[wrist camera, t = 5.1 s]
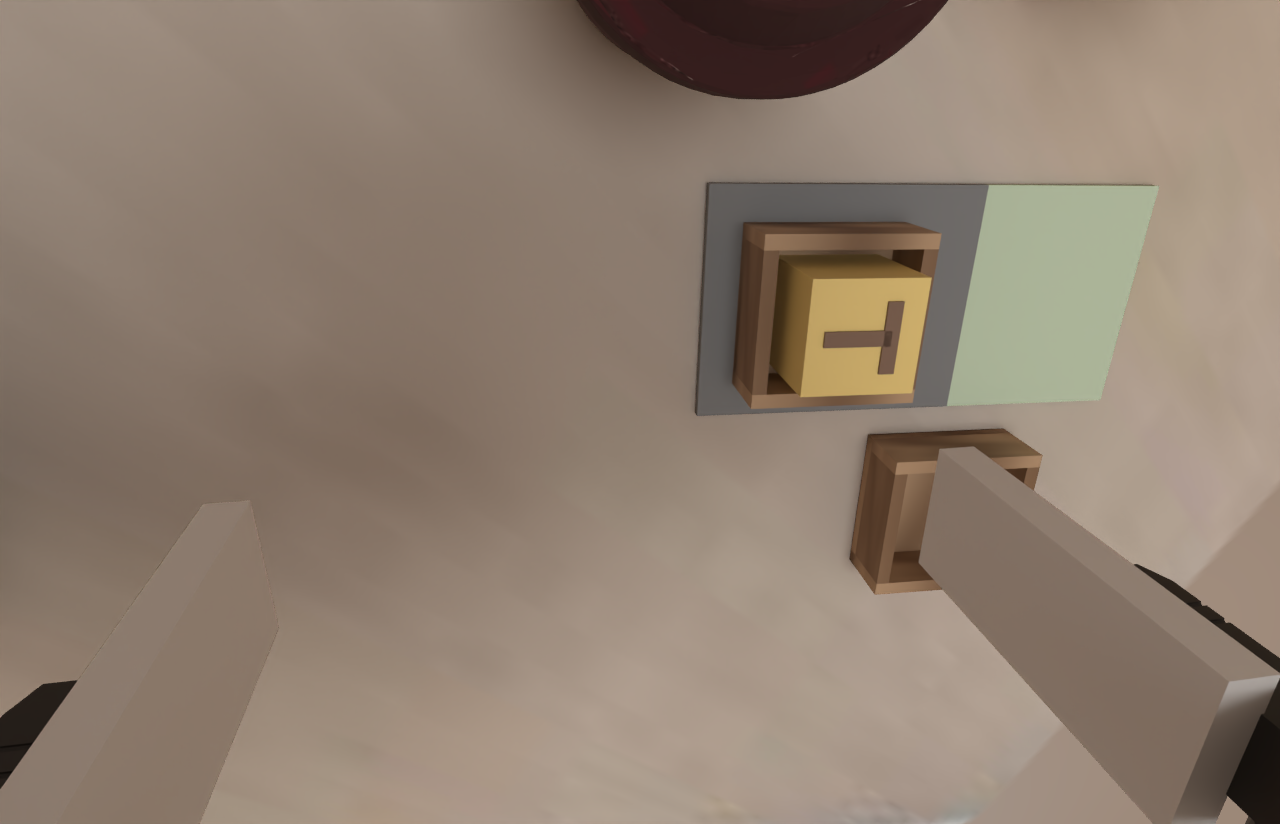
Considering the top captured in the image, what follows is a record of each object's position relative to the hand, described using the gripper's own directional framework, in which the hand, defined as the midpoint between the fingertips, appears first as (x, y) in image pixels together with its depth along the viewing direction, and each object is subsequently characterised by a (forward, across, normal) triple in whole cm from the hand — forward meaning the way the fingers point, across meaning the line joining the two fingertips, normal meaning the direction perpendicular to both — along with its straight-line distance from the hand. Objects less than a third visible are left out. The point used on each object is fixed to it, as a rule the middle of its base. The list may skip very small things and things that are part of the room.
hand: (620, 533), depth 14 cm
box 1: (+17, +11, 0) cm, 21 cm away
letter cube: (+17, +11, 0) cm, 20 cm away
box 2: (+18, +18, -11) cm, 27 cm away
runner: (+18, +16, -1) cm, 24 cm away
